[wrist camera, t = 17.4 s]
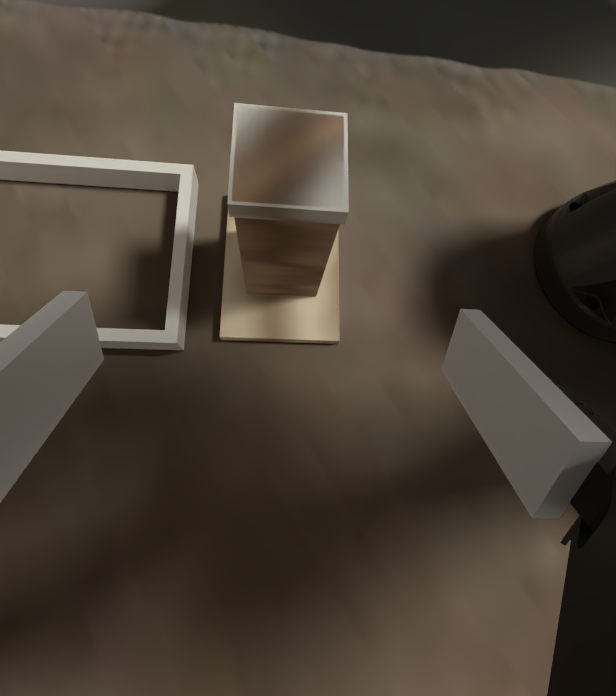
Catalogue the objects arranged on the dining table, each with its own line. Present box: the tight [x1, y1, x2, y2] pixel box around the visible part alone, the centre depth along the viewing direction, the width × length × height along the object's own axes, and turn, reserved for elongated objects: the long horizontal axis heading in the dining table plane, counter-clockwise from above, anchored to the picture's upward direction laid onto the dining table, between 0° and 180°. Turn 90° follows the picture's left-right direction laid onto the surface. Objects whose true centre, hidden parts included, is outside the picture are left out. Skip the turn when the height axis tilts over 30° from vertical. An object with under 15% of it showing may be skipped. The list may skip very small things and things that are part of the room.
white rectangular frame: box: [0, 151, 198, 350], centre depth 31 cm, size 20×16×2 cm
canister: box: [227, 103, 349, 296], centre depth 27 cm, size 6×6×13 cm
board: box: [220, 210, 339, 344], centre depth 34 cm, size 10×14×1 cm
